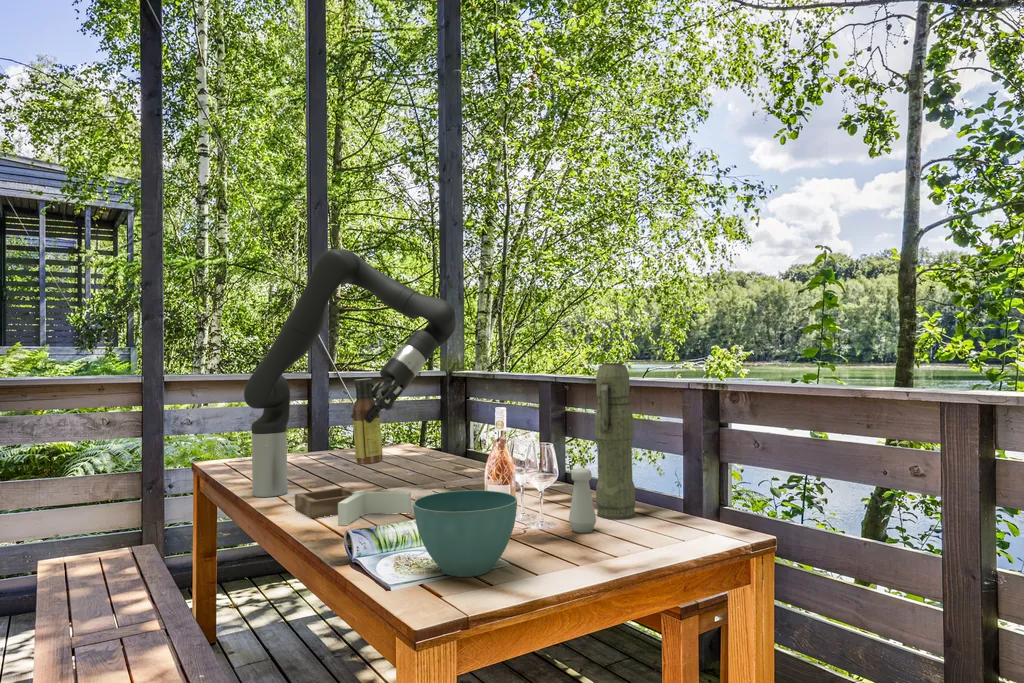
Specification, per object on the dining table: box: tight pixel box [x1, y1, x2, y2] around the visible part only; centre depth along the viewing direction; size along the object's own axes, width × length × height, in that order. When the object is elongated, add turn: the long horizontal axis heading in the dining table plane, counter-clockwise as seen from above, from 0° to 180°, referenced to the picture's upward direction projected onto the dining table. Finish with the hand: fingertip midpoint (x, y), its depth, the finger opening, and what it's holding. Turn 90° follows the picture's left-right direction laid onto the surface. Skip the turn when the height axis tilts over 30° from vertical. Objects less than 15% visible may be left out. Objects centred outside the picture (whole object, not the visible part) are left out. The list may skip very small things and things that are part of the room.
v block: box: [337, 489, 412, 526], centre depth 161 cm, size 11×18×5 cm, turn 127°
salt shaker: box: [568, 467, 597, 534], centre depth 144 cm, size 6×6×13 cm
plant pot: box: [412, 489, 518, 578], centre depth 119 cm, size 18×18×12 cm
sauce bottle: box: [351, 378, 383, 465], centre depth 160 cm, size 7×6×20 cm
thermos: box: [594, 362, 636, 520], centre depth 157 cm, size 9×12×35 cm
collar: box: [294, 486, 356, 519], centre depth 168 cm, size 12×13×4 cm
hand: (360, 419), depth 159 cm, fingers closed on sauce bottle, 6 cm apart
